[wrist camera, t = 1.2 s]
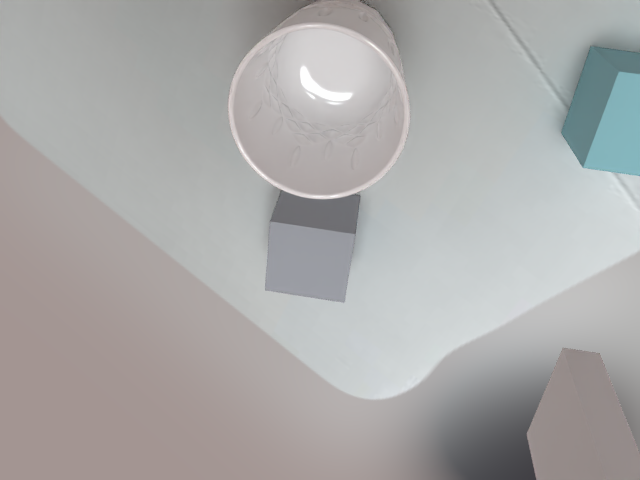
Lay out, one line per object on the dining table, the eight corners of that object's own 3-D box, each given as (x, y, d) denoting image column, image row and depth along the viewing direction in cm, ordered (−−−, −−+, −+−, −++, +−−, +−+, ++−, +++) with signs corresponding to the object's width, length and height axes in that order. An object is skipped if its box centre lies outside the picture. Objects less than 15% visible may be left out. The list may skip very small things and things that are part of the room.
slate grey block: (284, 183, 39) (269, 221, 35) (360, 194, 39) (355, 234, 34) (278, 247, 41) (264, 290, 37) (350, 258, 41) (344, 302, 37)
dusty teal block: (590, 45, 32) (618, 71, 28) (683, 58, 32) (726, 86, 28) (560, 132, 35) (582, 167, 31) (647, 144, 35) (681, 182, 31)
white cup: (249, 86, 36) (202, 152, 27) (304, -44, 32) (269, -14, 23) (366, 145, 37) (356, 226, 28) (434, 26, 33) (446, 79, 24)
